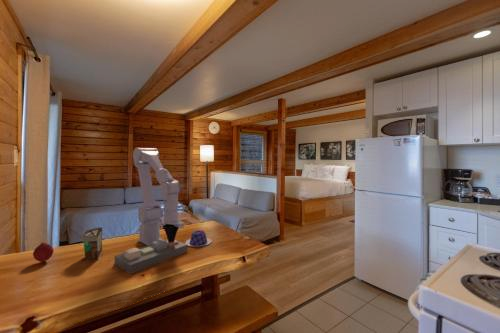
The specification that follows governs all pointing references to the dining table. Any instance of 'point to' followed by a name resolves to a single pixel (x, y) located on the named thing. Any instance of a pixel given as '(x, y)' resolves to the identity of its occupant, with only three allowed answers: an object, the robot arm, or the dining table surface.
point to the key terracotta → (172, 243)
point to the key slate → (159, 245)
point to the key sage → (146, 251)
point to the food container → (92, 243)
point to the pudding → (198, 239)
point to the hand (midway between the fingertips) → (171, 241)
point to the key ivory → (132, 253)
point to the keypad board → (150, 257)
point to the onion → (43, 252)
